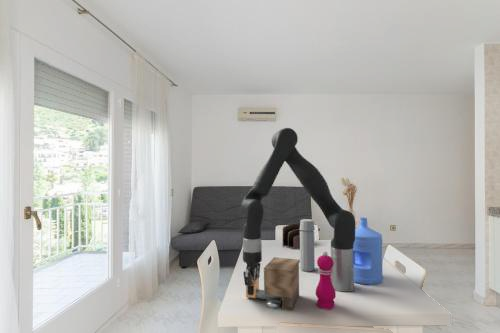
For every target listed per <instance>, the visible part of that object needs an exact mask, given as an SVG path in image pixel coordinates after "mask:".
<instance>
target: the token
mask: <svg viewBox="0 0 500 333" xmlns="http://www.w3.org/2000/svg"><path fill="white" fill-rule="evenodd" d="M266 307H267V308H269V309H279V308H280V307H281V301H279V300H276V299H269V300H268V299H266Z"/></svg>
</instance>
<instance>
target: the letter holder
mask: <svg viewBox="0 0 500 333" xmlns="http://www.w3.org/2000/svg"><path fill="white" fill-rule="evenodd" d="M299 229H300V223H292V224H288V225H286V226H283V227H282V246H281V247H282V248H285V247H286V249H289V250H290V249H291V250H297V248H298V249H300V231H301V230H299Z"/></svg>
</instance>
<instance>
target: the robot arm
mask: <svg viewBox="0 0 500 333" xmlns="http://www.w3.org/2000/svg"><path fill="white" fill-rule="evenodd" d="M297 143H298V134H297V133H296V131H295V130H294V129H292V128H290V127H284V128H282V129H281V128H280V130H278V131H277V132H275V133H274V134H273V136H272V137H271V146H272V147H273V150H272V152H271V154H270V156H269V158H268V159H267V161H266V162H265V164H264V165H263V167H262V169H261V170H260V171H259V173H258V175H257V177H256V179H255V181H254V183H253V185H252V187H251V188H250V190H249V191H248V193H247V194H246V195H245V196H244V198H243V200H242V201H241V205H240V211H241V213H242V214H243V215H245V216H246V222H245V223H244V224H243V228H242V230H243V231H242V234H243V235H242V236H243V238H242V239H243V240H242V261H243V263H245V264H246V268H245V270H244V271H243V272H242V273H243V279H244V286H246V285H247V287H248V295H253V285H254V279H255V277H259V278H260V272H261V262H262V259H263V258H262V257H263V256H262V255H263V254H262V252H263V251H262V250H263V249H262V246H263V245H262V223H263V219H264V215H265V214H264V212H265V211H264V204H263V203H262V200H263V198H266V197H268V195H269V193H270V191H271V190H272V188H273V185H274V183H275V180H276V179H277V177H278V174H279V173H280V171H281V169H282V166H283V165H284V163H285V162H286V164H287V165H288V166H289V168H290V170H291V172H293V174H294V176H295V178H297V180H298V181H299V183H300V184H301V186H302V187H303V188H304V189H305V191H306V192H307V193H308V195H309V196H310V198H311V199H312V200H313V201H314V202H315V204H316V205H317V206H318V207H319V208H320V210H321V212H322V214H323V216H324V218H325V219H326V221H327V223H328V224H329V225H330V227H331V228H333V238H332V239H331V240H330V257H331V258H332V259H333V262H334V265H333V267H332V268H331V269H332V274H331V282H332V285H333V287H334V289H335V291H338V292H355V282H354V261H353V244H354V242H355V229H356V228H357V227H356V218H355V216H354V214H353V213H352V212H351V211H349V210H346V209H343V208H342V207H341V206H340V205H339V203H338V202H337V201H336V200H335V199H334V197H333V196H332V193H331V190H330V188H329V185H328V182H327V181H326V179H325V178H324V176H323V174H321V172H320V170H319V169H318V168H317V167H316V166H315V165H314V164H312V163H311V162H310V161H309V160H307V159H306V158H305V157H304V156H303V155H302V154H301V153H300V152H299V151H298V149H297V147H296V145H297ZM251 276H253V277H251Z"/></svg>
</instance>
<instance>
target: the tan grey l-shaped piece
mask: <svg viewBox="0 0 500 333" xmlns="http://www.w3.org/2000/svg"><path fill="white" fill-rule="evenodd" d="M251 277H253V276H251ZM259 279H260V276H259V277H255V279H254V285H253V295H248V287H247V285H245V298H250V299H262V300H269V299H276V300H279V301H280V302H281V301H282V297H281V296H273V295H266V294H265V292H264V289H259V288H260V284H259V283H260V280H259Z"/></svg>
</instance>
